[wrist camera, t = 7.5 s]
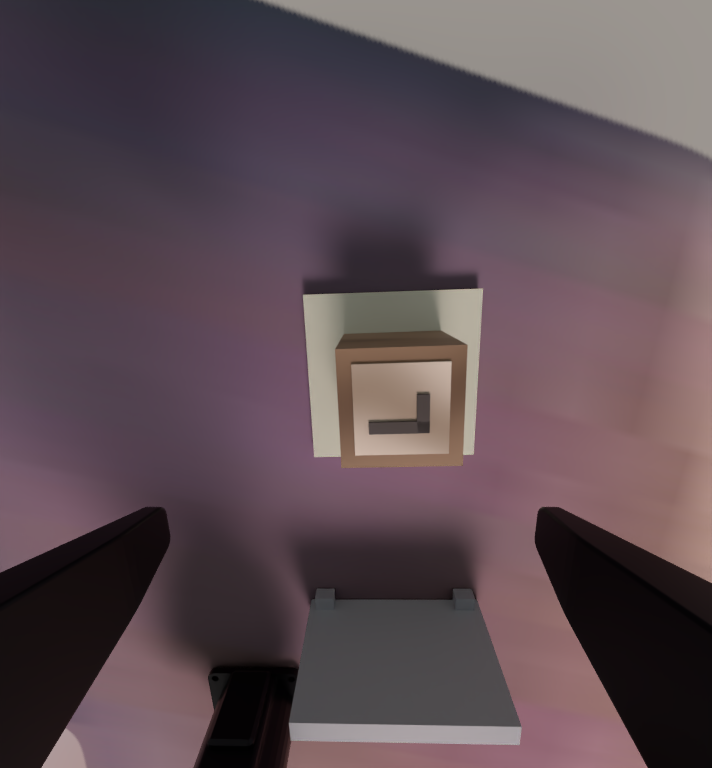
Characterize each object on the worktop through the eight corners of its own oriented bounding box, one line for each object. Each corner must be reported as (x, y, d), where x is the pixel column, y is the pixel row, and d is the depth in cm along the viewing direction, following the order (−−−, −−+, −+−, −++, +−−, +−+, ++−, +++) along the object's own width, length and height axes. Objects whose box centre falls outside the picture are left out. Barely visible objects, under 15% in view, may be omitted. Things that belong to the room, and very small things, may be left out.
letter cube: (438, 421, 19) (463, 467, 14) (348, 424, 19) (341, 470, 14) (440, 330, 18) (469, 345, 13) (343, 333, 18) (334, 349, 13)
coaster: (469, 448, 20) (473, 454, 20) (316, 450, 21) (314, 457, 20) (477, 288, 18) (482, 288, 17) (305, 294, 19) (302, 294, 18)
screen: (475, 624, 24) (517, 757, 17) (313, 624, 24) (292, 753, 17) (477, 588, 23) (523, 712, 16) (310, 588, 23) (287, 709, 17)
